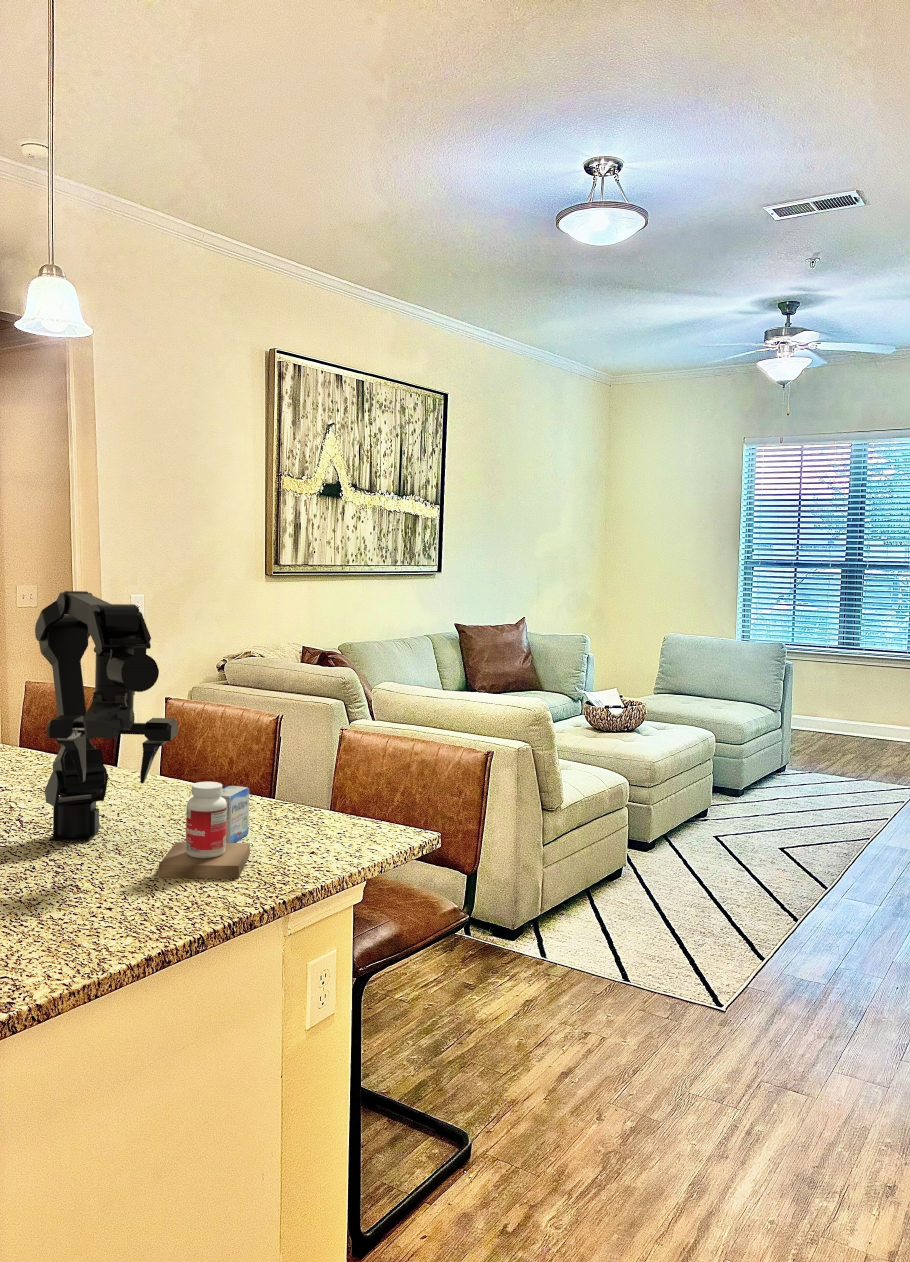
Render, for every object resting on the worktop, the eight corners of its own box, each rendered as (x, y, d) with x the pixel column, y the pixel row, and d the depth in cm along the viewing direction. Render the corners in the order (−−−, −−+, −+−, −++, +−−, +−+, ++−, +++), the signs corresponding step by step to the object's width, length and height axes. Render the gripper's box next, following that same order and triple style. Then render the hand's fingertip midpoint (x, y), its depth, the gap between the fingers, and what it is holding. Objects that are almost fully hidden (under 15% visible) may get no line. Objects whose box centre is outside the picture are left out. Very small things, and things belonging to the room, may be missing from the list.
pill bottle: (177, 853, 150) (179, 784, 149) (210, 845, 154) (211, 778, 154) (200, 862, 146) (202, 791, 145) (233, 853, 150) (235, 785, 150)
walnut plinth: (158, 877, 144) (158, 864, 144) (175, 854, 156) (175, 842, 156) (238, 878, 145) (239, 865, 145) (249, 855, 157) (249, 843, 157)
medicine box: (229, 847, 161) (230, 796, 160) (205, 844, 162) (206, 794, 161) (248, 835, 169) (250, 787, 168) (225, 832, 170) (226, 784, 169)
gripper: (34, 688, 139) (33, 793, 140) (163, 692, 141) (161, 796, 142) (59, 679, 151) (58, 776, 152) (179, 683, 152) (177, 779, 153)
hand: (112, 782), depth 149 cm, fingers open, 9 cm apart
